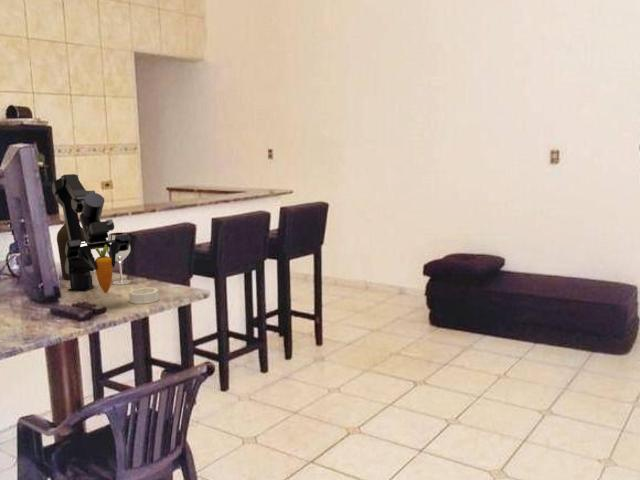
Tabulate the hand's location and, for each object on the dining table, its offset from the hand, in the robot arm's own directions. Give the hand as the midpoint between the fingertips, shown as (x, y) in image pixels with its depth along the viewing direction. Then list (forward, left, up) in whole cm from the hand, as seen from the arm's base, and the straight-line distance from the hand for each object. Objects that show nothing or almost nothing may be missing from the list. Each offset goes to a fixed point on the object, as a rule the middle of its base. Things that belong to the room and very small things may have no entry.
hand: (105, 268), depth 186 cm
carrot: (-1, +1, -8) cm, 8 cm away
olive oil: (-35, +41, -14) cm, 56 cm away
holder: (+6, +12, -13) cm, 19 cm away
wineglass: (-13, +34, -14) cm, 39 cm away
